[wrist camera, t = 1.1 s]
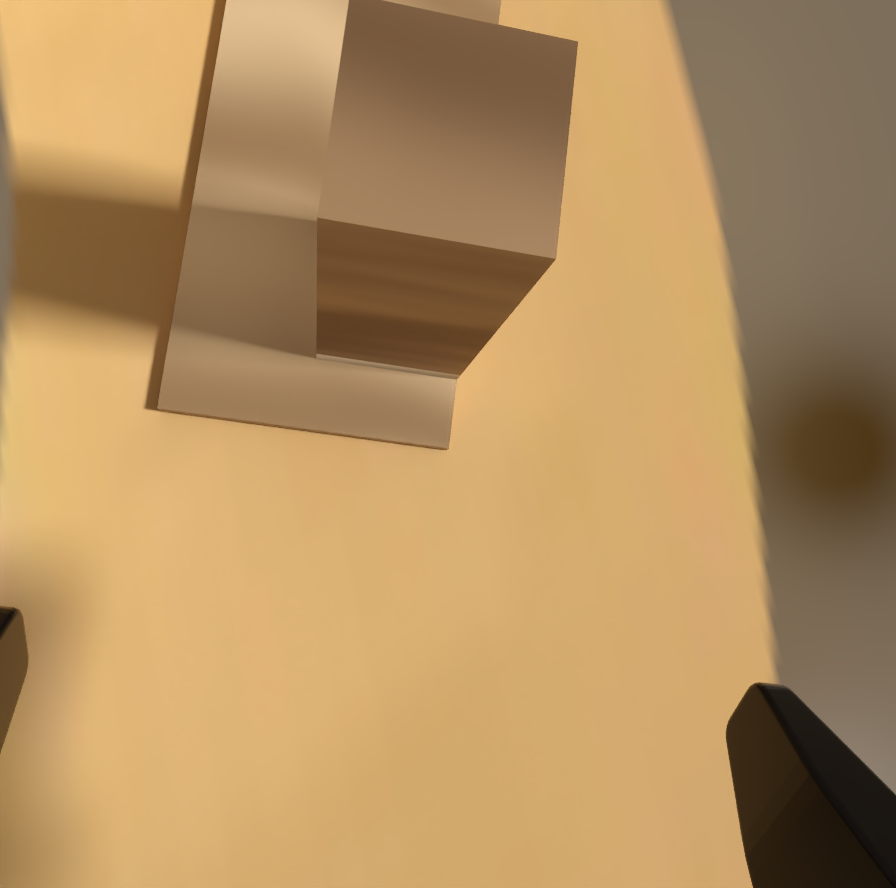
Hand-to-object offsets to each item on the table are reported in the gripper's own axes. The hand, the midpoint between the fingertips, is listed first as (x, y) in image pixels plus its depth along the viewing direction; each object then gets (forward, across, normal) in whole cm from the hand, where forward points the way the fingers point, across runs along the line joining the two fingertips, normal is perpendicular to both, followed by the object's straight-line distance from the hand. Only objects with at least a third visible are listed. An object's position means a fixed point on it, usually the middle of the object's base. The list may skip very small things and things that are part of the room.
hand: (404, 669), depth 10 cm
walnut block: (+15, 0, +2) cm, 15 cm away
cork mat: (+18, +2, +1) cm, 18 cm away
